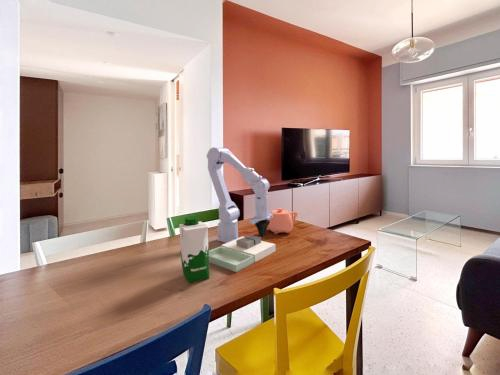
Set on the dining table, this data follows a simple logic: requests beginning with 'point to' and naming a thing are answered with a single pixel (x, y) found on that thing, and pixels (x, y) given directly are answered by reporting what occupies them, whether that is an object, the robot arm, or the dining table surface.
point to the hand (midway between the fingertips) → (262, 236)
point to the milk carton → (194, 249)
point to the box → (230, 259)
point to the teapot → (281, 221)
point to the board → (253, 249)
